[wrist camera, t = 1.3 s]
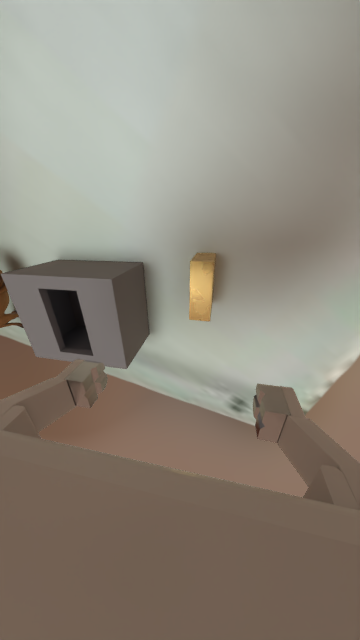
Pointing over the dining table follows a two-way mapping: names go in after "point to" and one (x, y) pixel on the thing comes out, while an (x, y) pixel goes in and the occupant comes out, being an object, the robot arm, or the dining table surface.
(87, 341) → the money box
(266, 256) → the dining table surface
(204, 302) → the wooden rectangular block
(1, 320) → the lion figurine
